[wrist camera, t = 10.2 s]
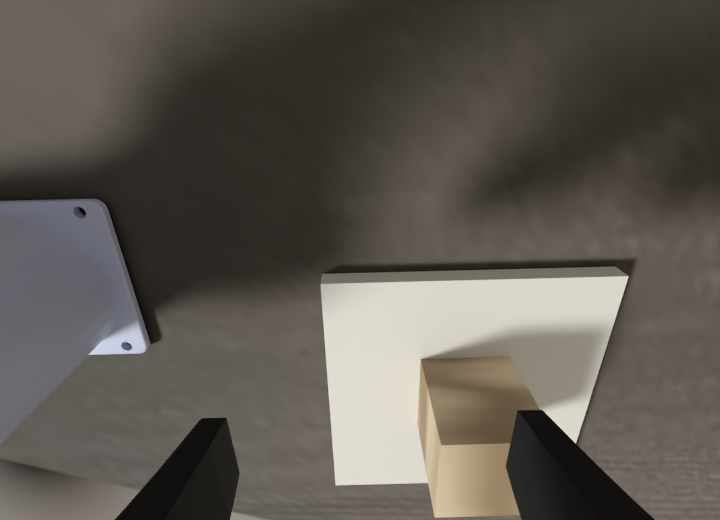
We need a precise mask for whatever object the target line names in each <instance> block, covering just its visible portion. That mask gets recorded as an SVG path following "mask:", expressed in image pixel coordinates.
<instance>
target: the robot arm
mask: <svg viewBox="0 0 720 520" xmlns="http://www.w3.org/2000/svg"><path fill="white" fill-rule="evenodd" d="M79 207H81V208H83V209H84V210H85V212H86V215H84V214H82V213H81V212H80V210H79ZM126 342H128V343H130V344H131V345H128V344H127V343H126ZM149 346H150V340H149V337H148V334H147V331H146V328H145V324H144V321H143V318H142V315H141V312H140V309H139V306H138V302H137V299H136V296H135V293H134V290H133V287H132V283H131V280H130V277H129V274H128V271H127V268H126V265H125V261H124V258H123V255H122V252H121V249H120V246H119V242H118V239H117V236H116V233H115V230H114V227H113V224H112V220H111V217H110V214H109V211H108V209H107V207H106V205H105V204H104V203H103V202H102V201H100V200H98V199H56V200H16V201H0V444H1V443H2V442H3V441H4V440H5V439H6V438H7V437H8V436H9V435H10V434H11V433H12V432H13V431H14V430H15V429H16V428H17V427H18V426H19V425H20V424H21V423H22V422H23V421H24V420H25V419H26V418H27V417H28V416H29V415H30V414H31V413H32V412H33V411H34V410H35V409H36V408H37V407H38V406H39V404H40V403H41V402H42V401H43V400H44V399H45V398H46V397H47V396H48V395H49V394H50V393H51V392H52V391H53V390H54V389H55V388H56V387H57V386H58V385H59V384H60V383H61V382H62V381H63V380H64V379H65V378H66V377H67V376H68V375H69V374H70V373H71V372H72V371H73V370H74V369H75V368H76V367H77V366H78V365H79V364H80V363H81V362H82V361H83V360H84V359H85V358H86V357H87V356H88V355H97V354H137V353H144V352H145V351H146V350H147V349H148V348H149ZM506 469H507V473H508V476H509V480H510V484H511V487H512V491H513V494H514V497H515V501H516V504H517V507H518V510H519V513H520V516H521V518H522V520H654V519H653V518H652V517H651V516H650V515H649V514H648V513H647V512H646V511H645V510H644V509H643V508H641V507H640V506H639V505H638V504H637V503H636V502H635V501H634V500H633V499H632V498H631V497H630V496H629V495H628V494H627V493H626V492H625V491H623V490H622V489H621V488H620V487H619V486H618V485H617V484H616V483H615V482H614V481H613V480H612V479H611V478H610V477H609V476H608V475H607V474H606V473H605V472H604V471H603V470H602V469H601V468H600V467H599V466H598V465H597V464H596V463H595V462H594V461H593V460H592V459H591V458H590V457H589V456H588V455H587V454H586V453H585V452H584V451H583V450H582V449H581V448H580V447H579V446H578V445H577V444H576V443H575V442H574V441H573V440H572V439H571V438H570V437H569V436H568V435H567V434H566V433H565V432H564V431H563V430H562V429H561V428H560V427H559V426H558V425H557V424H556V423H555V422H554V421H553V420H552V419H551V418H550V417H549V416H548V415H547V414H546V413H545V412H544V411H543V410H517V415H516V419H515V424H514V429H513V434H512V438H511V443H510V448H509V453H508V457H507V462H506ZM238 478H239V469H238V465H237V460H236V456H235V452H234V448H233V444H232V439H231V435H230V431H229V427H228V422H227V418H202V419H201V420H200V421H199V422H198V423H197V424H196V425H195V426H194V428H193V429H192V430H191V431H190V433H189V434H188V435H187V436H186V437H185V439H184V440H183V441H182V442H181V443H180V445H179V446H178V447H177V448H176V450H175V451H174V452H173V453H172V454H171V456H170V457H169V458H168V459H167V460H166V462H165V463H164V464H163V465H162V466H161V467H160V469H159V470H158V471H157V472H156V473H155V475H154V476H153V477H152V478H151V479H150V480H149V482H148V483H147V484H146V485H145V486H144V487H143V488H142V490H141V491H140V492H139V493H138V494H137V495H136V496H135V498H134V499H133V500H132V501H131V502H130V503H129V505H128V506H127V507H126V508H125V509H124V510H123V511H122V512H121V513H120V515H119V516H118V517H117V518H116V519H115V520H230V516H231V512H232V507H233V503H234V498H235V493H236V488H237V483H238Z"/></svg>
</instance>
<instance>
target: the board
mask: <svg viewBox="0 0 720 520" xmlns="http://www.w3.org/2000/svg"><path fill="white" fill-rule="evenodd" d="M628 277H629V276H628V275H626V274H625V273H624V272H622V271H621V270H619V269H618V268H617V267H576V268H536V269H496V270H456V271H416V272H376V273H336V274H322V278H321V297H322V310H323V323H324V337H325V350H326V363H327V376H328V390H329V403H330V416H331V429H332V443H333V456H334V469H335V482H336V485H365V484H404V483H428V479H427V473H426V468H425V462H424V457H423V451H422V446H421V440H420V435H419V429H418V424H417V422H418V402H419V382H420V362H421V359H441V358H473V357H506V356H510V357H511V359H512V361H513V363H514V364H515V366H516V368H517V370H518V371H519V373H520V375H521V377H522V378H523V380H524V382H525V384H526V385H527V387H528V389H529V391H530V393H531V394H532V396H533V398H534V400H535V401H536V403H537V405H538V407H539V408H540V410H543V411H544V412H545V413H546V414H547V415H548V416H549V417H550V418H551V419H552V420H553V421H554V422H555V423H556V424H557V425H558V426H559V427H560V428H561V429H562V430H563V431H564V432H565V433H566V434H567V435H568V436H569V437H570V438H571V439H572V440H573V441H574V442H575V443H576V442H577V439H578V436H579V433H580V429H581V426H582V423H583V420H584V417H585V414H586V410H587V407H588V404H589V401H590V398H591V395H592V391H593V388H594V385H595V382H596V379H597V376H598V372H599V369H600V366H601V363H602V360H603V357H604V353H605V350H606V347H607V344H608V341H609V338H610V334H611V331H612V328H613V325H614V322H615V319H616V315H617V312H618V309H619V306H620V303H621V300H622V296H623V293H624V290H625V287H626V284H627V281H628Z"/></svg>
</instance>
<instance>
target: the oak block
mask: <svg viewBox="0 0 720 520" xmlns="http://www.w3.org/2000/svg"><path fill="white" fill-rule="evenodd" d="M517 410H540V408H539V407H538V405H537V403H536V401H535V400H534V398H533V396H532V394H531V393H530V391H529V389H528V387H527V385H526V384H525V382H524V380H523V378H522V377H521V375H520V373H519V371H518V370H517V368H516V366H515V364H514V363H513V361H512V359H511V357H510V356H506V357H473V358H441V359H421V362H420V382H419V402H418V422H417V424H418V429H419V435H420V440H421V446H422V451H423V457H424V462H425V468H426V473H427V479H428V484H429V489H430V495H431V500H432V506H433V511H434V517H435V518H436V517H469V516H503V515H520V513H519V510H518V507H517V504H516V501H515V497H514V494H513V491H512V487H511V484H510V480H509V476H508V473H507V469H506V462H507V457H508V453H509V448H510V443H511V438H512V434H513V429H514V424H515V419H516V415H517Z"/></svg>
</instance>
